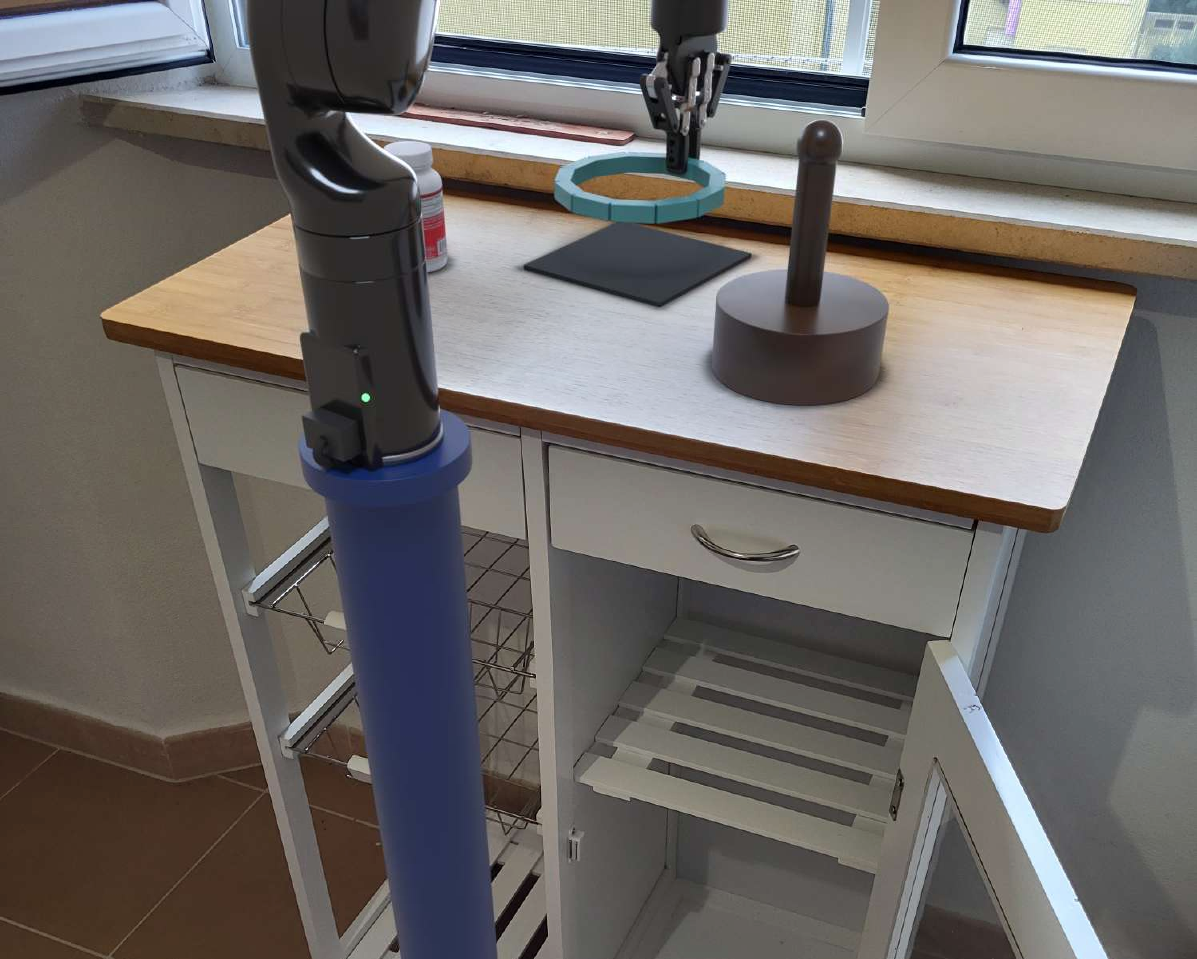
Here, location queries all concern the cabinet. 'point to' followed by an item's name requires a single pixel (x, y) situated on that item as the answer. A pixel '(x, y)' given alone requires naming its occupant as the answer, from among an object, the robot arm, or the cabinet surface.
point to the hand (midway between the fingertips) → (682, 169)
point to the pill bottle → (426, 198)
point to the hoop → (638, 209)
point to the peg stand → (802, 305)
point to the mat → (638, 262)
